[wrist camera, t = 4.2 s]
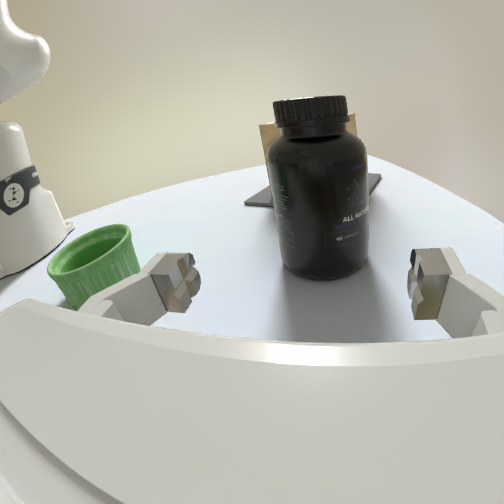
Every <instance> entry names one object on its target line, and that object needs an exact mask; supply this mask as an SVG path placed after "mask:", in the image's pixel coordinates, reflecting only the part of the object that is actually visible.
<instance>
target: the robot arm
mask: <svg viewBox="0 0 504 504" xmlns="http://www.w3.org/2000/svg"><path fill="white" fill-rule="evenodd" d="M49 62H50V49H49V46H48V44H47V43H46V41H45V40H44V39H43V38H42V37H40V36H38V35H34V34H30V33H27V32H25V31H23V30H21V29H20V28H18V27H17V26H16V25H15V24H14V23H13V21H12V20H11V18H10V15H9V11H8V6H7V0H0V104H1V103H3V102H5V101H7V100H9V99H11V98H13V97H14V96H17V95H19V94H21V93H23V92H24V91H26V90H27V89H29V88H30V87H32V86H33V85H35V84H36V83H38V82H39V81H41V80H42V79H43V77H44V76H45V74H46V72H47V69H48V67H49ZM39 183H40V180H39V177H38V173H37V171H36V169H35V166H33V165H32V163H31V160H30V156H29V153H28V149H27V145H26V141H25V137H24V133H23V130H22V128H21V127H20V126H19V125H18V124H17V123H15V122H11V121H0V278H2V277H4V276H6V275H9V274H13V273H16V272H18V271H20V270H22V269H24V268H26V267H28V266H30V265H31V264H33V263H35V262H36V261H38V260H39V259H41V258H42V257H44V256H45V255H46V254H48V253H49V252H50V251H52V250H53V249H54V248H55V247H56V246H58V245H59V244H60V243H61V242H62V241H63V240H64V238H65V237H66V235H67V234H68V233H69V232H70V231H71V230H73V229H74V228H75V225H74V223H73V222H67V223H65V222H64V220H63V217H62V215H61V213H60V211H59V208H58V206H57V204H56V201H55V199H54V197H53V195H52V192H51V191H48V190H45V189H43V188H42V187H41V186H40V185H39ZM410 261H411V264H412V268H411V269H410V270H409V271H408V280H407V288H408V295H409V298H410V299H412V305H411V308H412V312H413V317H414V320H433V319H437V320H436V321H437V322H438V323H439V324H440V325H441V326H442V327H443V328H444V329H445V331H446V332H447V333H448V334H449V335H450V336H451V337H452V338H453V339H442V340H429V341H412V342H388V343H319V342H294V341H276V340H261V339H249V338H238V337H228V336H219V335H210V334H202V333H194V332H186V331H179V330H172V329H166V328H159V327H153V326H150V325H151V324H153V323H154V322H155V321H157V320H158V319H159V318H161V317H162V316H163V315H165V314H166V313H167V312H179V313H185V312H186V310H187V309H188V307H189V306H190V304H191V303H192V300H191V298H192V297H193V296H195V295H196V294H197V293H198V291H199V290H200V285H201V279H200V275H199V272H198V271H197V270H196V269H195V268H194V265H195V260H194V257H193V255H192V254H190V253H157V254H156V255H155V256H154V257H153V258H152V259H151V260H150V261H149V262H148V263H147V264H146V265H145V266H144V267H143V269H142V270H141V271H140V272H139V273H138V274H134V275H132V276H130V277H128V278H126V279H124V280H122V281H120V282H118V283H116V284H114V285H112V286H110V287H108V288H106V289H104V290H102V291H100V292H98V293H97V294H95V295H93V296H91V297H90V298H89V299H88V300H87V301H86V302H85V303H84V304H83V305H82V306H81V307H80V308H79V310H78V311H74V310H70V309H66V308H62V307H58V306H54V305H50V304H47V303H43V302H39V301H36V300H33V299H26V300H23V301H20V302H18V303H16V304H14V305H12V306H10V307H8V308H6V309H5V310H3V311H1V312H0V504H504V296H502V295H501V294H500V293H498V292H497V291H495V290H494V289H492V288H491V287H489V286H488V285H486V284H485V283H483V282H482V281H480V280H479V279H477V278H476V277H474V276H473V275H471V274H466V272H465V270H464V268H463V266H462V264H461V263H460V261H459V259H458V257H457V256H456V254H455V252H454V250H453V249H452V248H450V247H449V248H430V249H412V252H411V257H410Z"/></svg>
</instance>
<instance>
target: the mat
mask: <svg viewBox="0 0 504 504" xmlns="http://www.w3.org/2000/svg"><path fill="white" fill-rule="evenodd" d="M380 178H381V174H373V173H368V189H369V194H370V193H371V191H372V190H373V188H374V187H375V185H376V184H377V182H378V181H379V179H380ZM244 203H245V205H257V206H269V207H274V203H273V197H272V194H271V189H270V186H268V187H267V188H265V189H263V190H262V191H260V192H258V193H257V194H255V195H254V196H252V197H251V198H249V199H247V200H246V201H244Z"/></svg>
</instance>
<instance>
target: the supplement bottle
mask: <svg viewBox="0 0 504 504" xmlns="http://www.w3.org/2000/svg"><path fill="white" fill-rule="evenodd" d="M273 108H274V115H275V120H276V121H274V123H275V127H276V128H280V133H281V136H280V137H279V138H278V139H277V140H275V141H274V142H273V143H272V144H271V146H270V147H269V149H268V152H267V166H268V172H269V178H270V184H271V190H272V197H273V203H274V210H275V216H276V223H277V230H278V237H279V244H280V250H281V256H282V260H283V262H284V264H285V265H286V266H287V268H288V269H289V270H291V271H292V272H294V273H295V274H297V275H299V276H302V277H305V278H309V279H316V280H330V279H336V278H341V277H344V276H347V275H349V274H351V273H353V272H355V271H356V270H357V269H359V268H360V267H361V266H362V265H363V263H364V262H365V260H366V258H367V253H368V238H369V189H368V164H367V152H366V148H365V146H364V144H363V142H362V141H361V140H360V139H359V138H358V137H357V136H355V135H354V134H352V133H350V132H349V131H347V127H346V123H348V122H350V118H349V115H348V112H347V111H348V110H347V103H346V97H345V96H341V95H338V96H318V97H305V98H296V99H287V100H280V101H275V102H273Z"/></svg>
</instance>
